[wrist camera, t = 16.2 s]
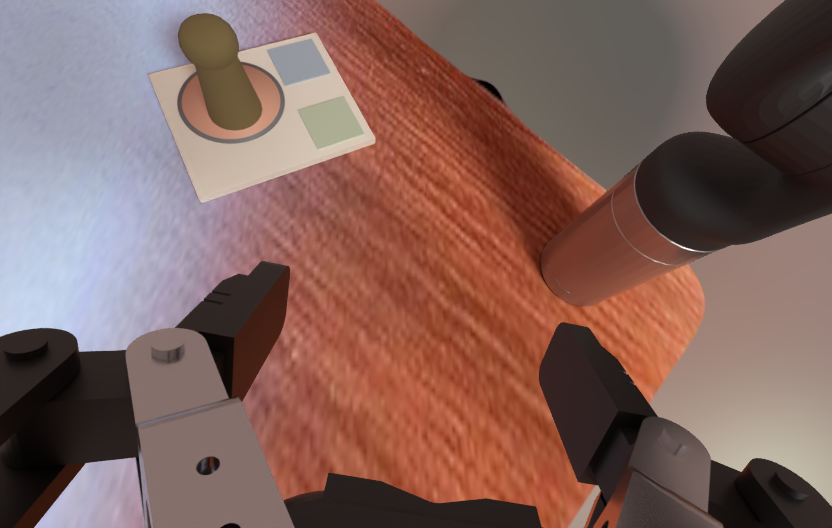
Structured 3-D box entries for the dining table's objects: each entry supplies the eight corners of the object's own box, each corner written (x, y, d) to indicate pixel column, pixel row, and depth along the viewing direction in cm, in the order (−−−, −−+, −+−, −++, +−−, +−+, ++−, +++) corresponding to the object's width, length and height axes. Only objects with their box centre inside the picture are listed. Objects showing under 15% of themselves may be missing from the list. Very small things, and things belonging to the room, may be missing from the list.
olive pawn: (269, 96, 49) (246, 12, 38) (252, 136, 46) (224, 58, 36) (219, 83, 48) (183, -5, 38) (199, 123, 46) (155, 40, 36)
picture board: (316, 39, 54) (315, 31, 53) (375, 143, 50) (375, 137, 49) (151, 80, 48) (147, 72, 47) (202, 203, 44) (198, 197, 43)
